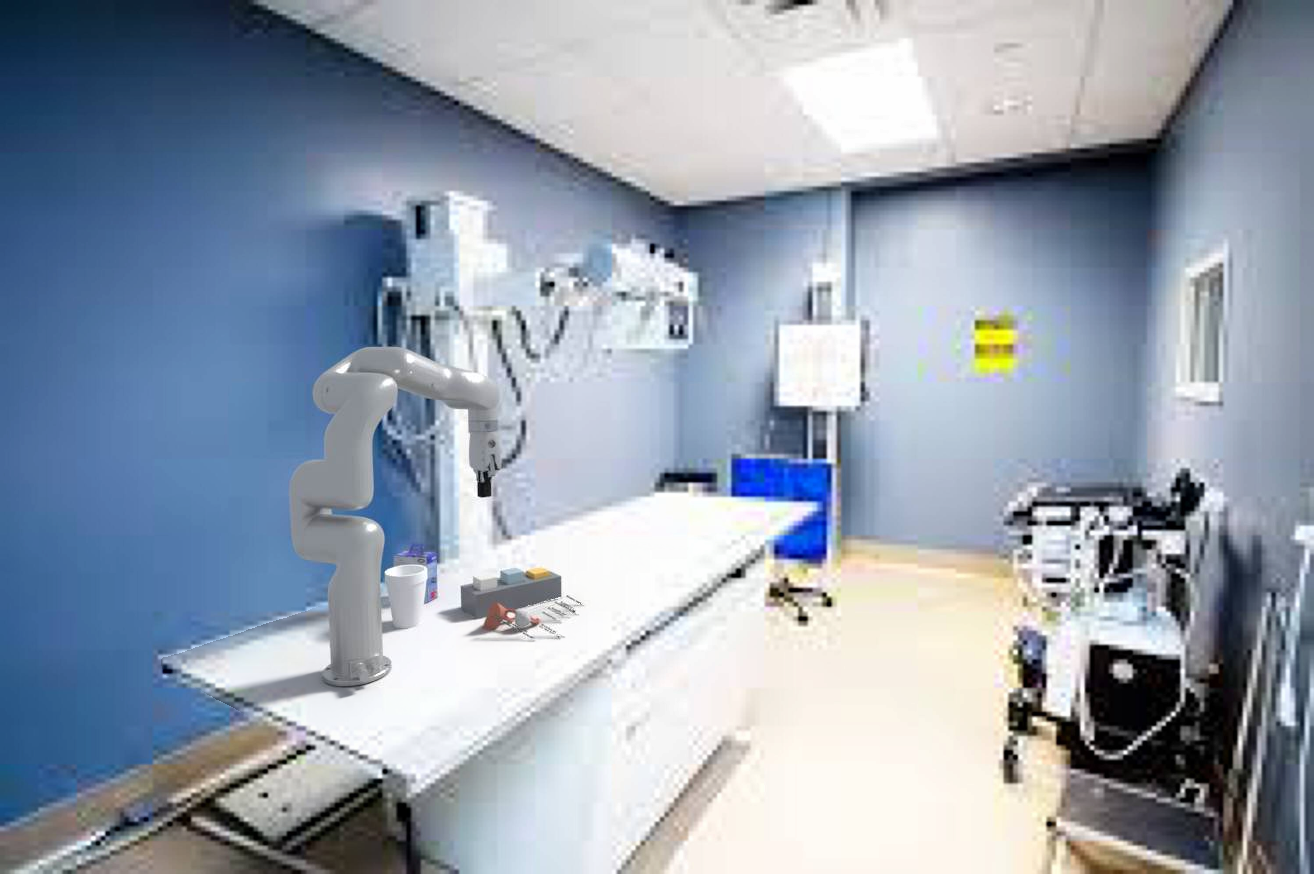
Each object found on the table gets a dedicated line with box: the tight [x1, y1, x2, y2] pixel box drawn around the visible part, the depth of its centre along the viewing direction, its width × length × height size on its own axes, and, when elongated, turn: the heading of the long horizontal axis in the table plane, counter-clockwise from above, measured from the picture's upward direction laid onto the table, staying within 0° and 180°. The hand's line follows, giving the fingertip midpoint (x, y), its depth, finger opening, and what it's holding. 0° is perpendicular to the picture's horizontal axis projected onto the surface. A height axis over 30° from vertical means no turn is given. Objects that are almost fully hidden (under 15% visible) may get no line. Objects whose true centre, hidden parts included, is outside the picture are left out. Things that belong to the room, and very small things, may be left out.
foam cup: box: [384, 565, 428, 630], centre depth 160 cm, size 10×9×13 cm
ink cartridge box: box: [393, 542, 438, 604], centre depth 178 cm, size 10×6×14 cm, turn 78°
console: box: [460, 569, 562, 620], centre depth 175 cm, size 9×24×6 cm, turn 130°
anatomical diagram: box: [482, 594, 582, 639], centre depth 164 cm, size 20×9×25 cm
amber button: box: [526, 566, 550, 579], centre depth 180 cm, size 4×4×4 cm
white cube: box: [472, 572, 498, 591], centre depth 170 cm, size 4×4×4 cm
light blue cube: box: [499, 567, 525, 585], centre depth 175 cm, size 4×4×4 cm
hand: (484, 496), depth 178 cm, fingers closed
